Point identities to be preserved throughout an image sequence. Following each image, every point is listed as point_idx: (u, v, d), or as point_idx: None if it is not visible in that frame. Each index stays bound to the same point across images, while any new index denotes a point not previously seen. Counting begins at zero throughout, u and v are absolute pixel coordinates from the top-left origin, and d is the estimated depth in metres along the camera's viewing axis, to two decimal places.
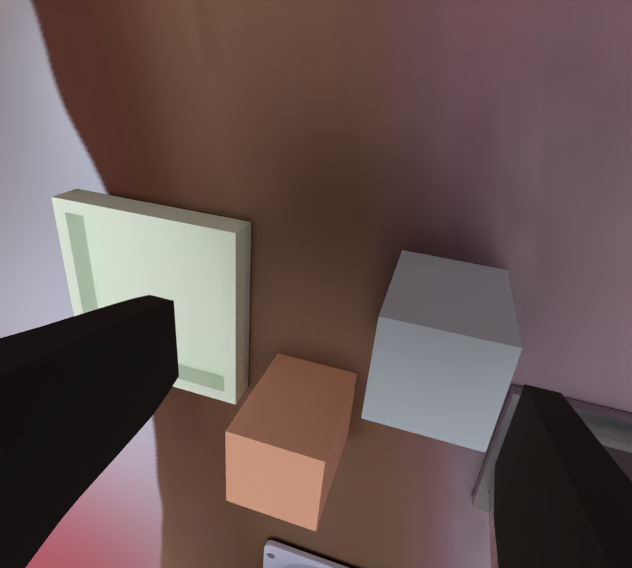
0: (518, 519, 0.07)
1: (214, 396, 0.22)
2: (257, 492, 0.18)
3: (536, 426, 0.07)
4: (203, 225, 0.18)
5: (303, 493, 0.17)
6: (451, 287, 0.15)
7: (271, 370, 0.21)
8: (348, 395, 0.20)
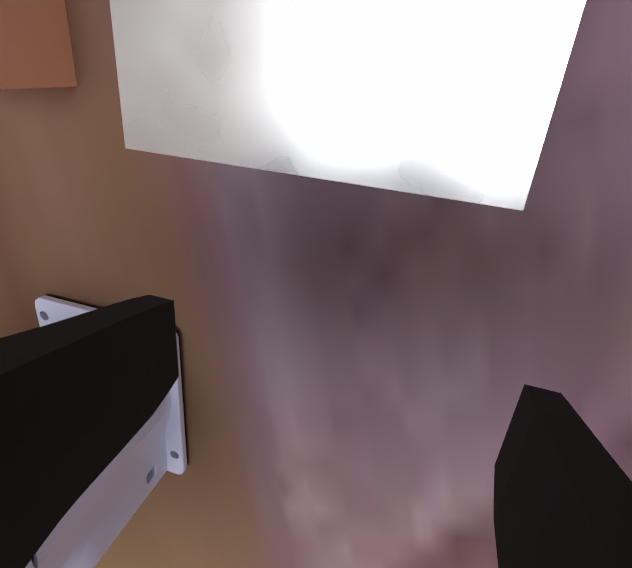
0: (518, 519, 0.07)
1: None
2: None
3: (536, 426, 0.07)
4: None
5: None
6: None
7: None
8: None
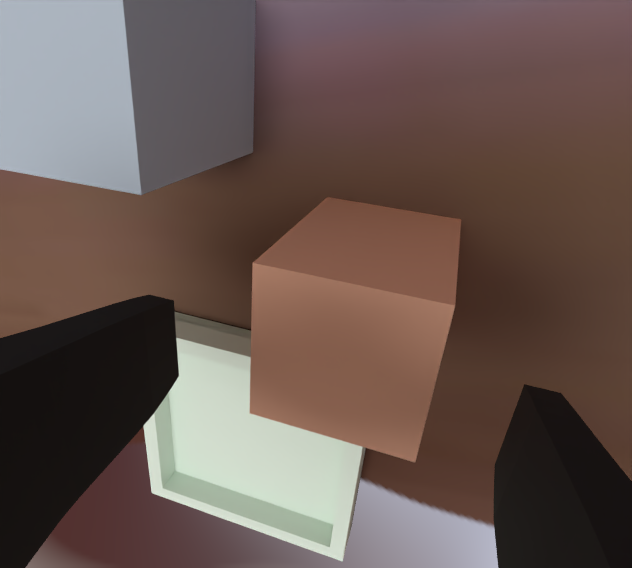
0: (518, 519, 0.07)
1: None
2: (373, 400, 0.10)
3: (536, 426, 0.07)
4: None
5: (345, 314, 0.09)
6: None
7: None
8: (312, 212, 0.12)
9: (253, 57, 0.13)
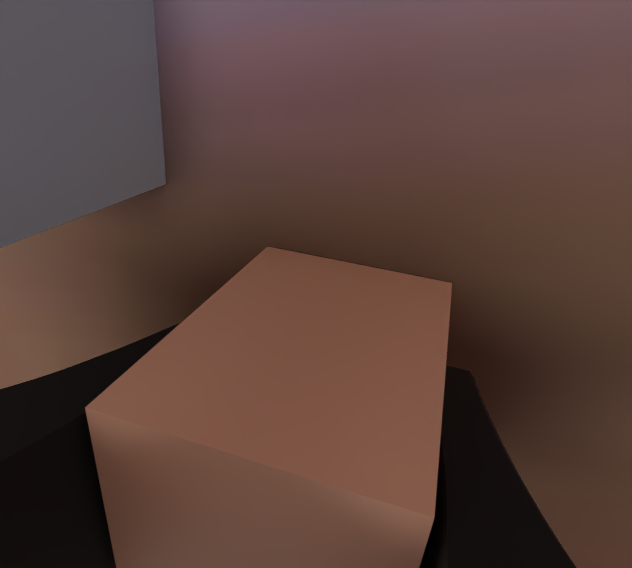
0: None
1: None
2: None
3: None
4: None
5: (243, 502, 0.05)
6: None
7: None
8: (236, 277, 0.09)
9: (154, 52, 0.09)
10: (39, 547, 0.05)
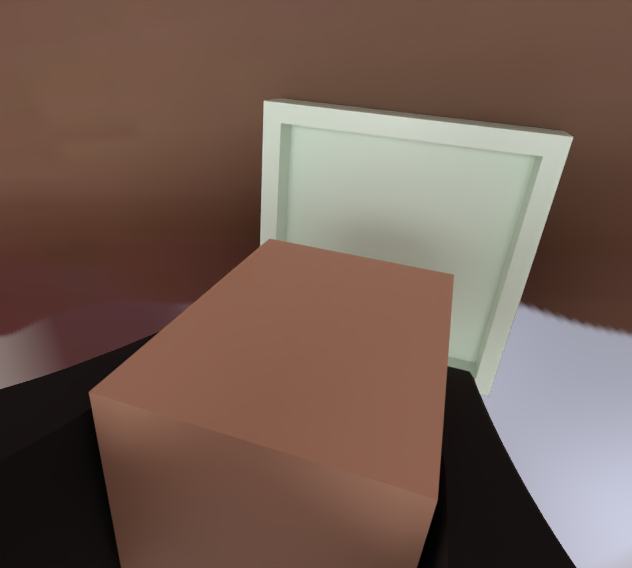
0: None
1: (554, 178, 0.13)
2: None
3: None
4: (263, 149, 0.15)
5: (246, 486, 0.05)
6: None
7: None
8: (238, 268, 0.09)
9: None
10: (39, 547, 0.05)
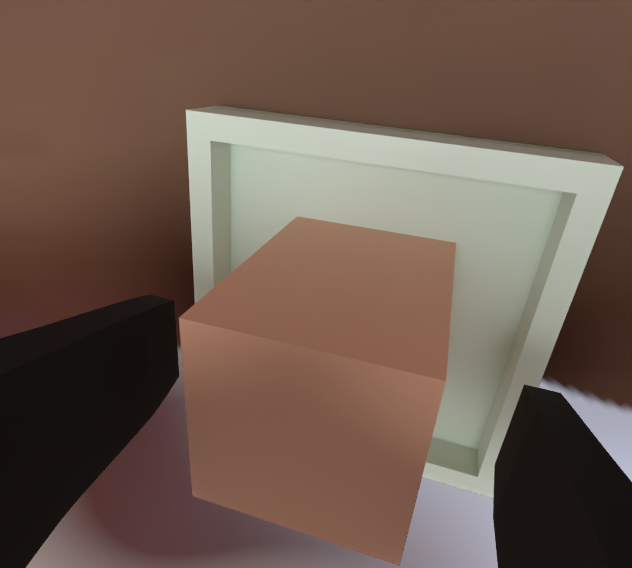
0: (518, 519, 0.07)
1: (593, 224, 0.09)
2: (344, 490, 0.07)
3: (536, 426, 0.07)
4: (191, 174, 0.11)
5: (301, 385, 0.07)
6: None
7: None
8: (274, 238, 0.10)
9: None
10: None
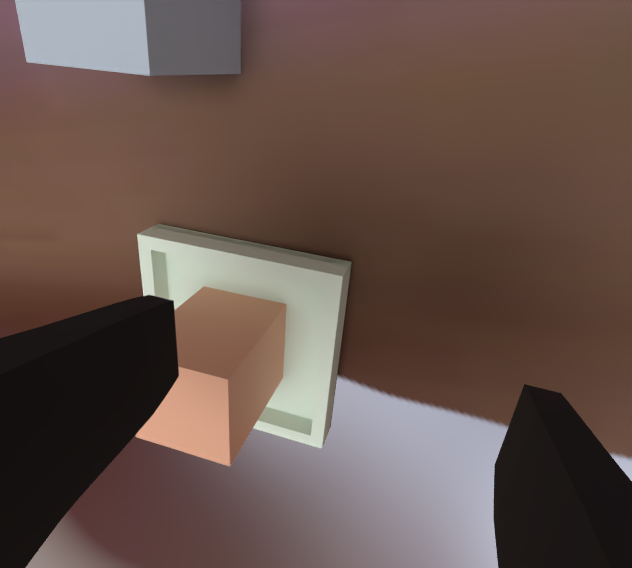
0: (518, 519, 0.07)
1: (336, 302, 0.18)
2: (200, 429, 0.16)
3: (536, 426, 0.07)
4: (142, 265, 0.20)
5: (176, 382, 0.16)
6: None
7: None
8: (184, 303, 0.19)
9: None
10: None
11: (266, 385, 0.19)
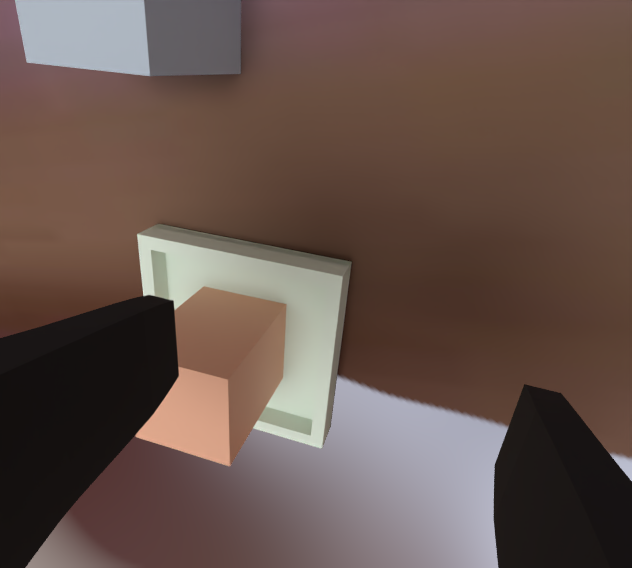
0: (518, 519, 0.07)
1: (336, 302, 0.18)
2: (200, 429, 0.16)
3: (536, 426, 0.07)
4: (142, 265, 0.20)
5: (176, 382, 0.16)
6: None
7: None
8: (184, 303, 0.19)
9: None
10: None
11: (266, 385, 0.19)
